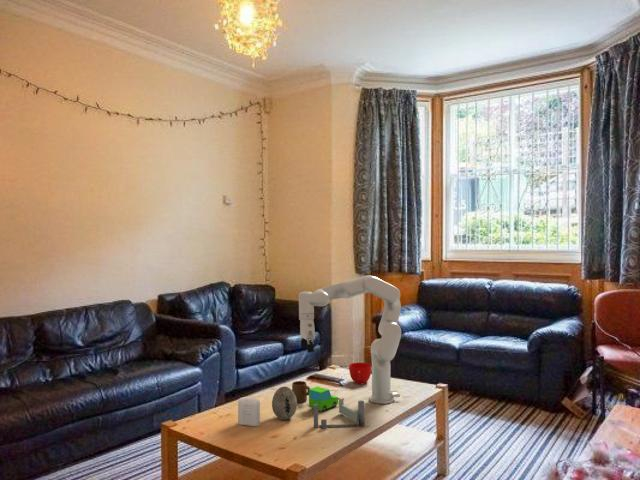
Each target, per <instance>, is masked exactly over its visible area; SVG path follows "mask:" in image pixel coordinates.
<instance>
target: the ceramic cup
mask: <svg viewBox="0 0 640 480" xmlns="http://www.w3.org/2000/svg"><path fill="white" fill-rule="evenodd" d="M348 370H349V377H350V378H351V380H352V381H353V382H354V383H355V384H356V385H364V384H366V383H367V382H368V381H369V379H370V378H371V376H372V364H370V363H367V362H352V363H350V364H349V365H348Z"/></svg>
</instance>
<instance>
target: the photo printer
mask: <svg viewBox="0 0 640 480" xmlns="http://www.w3.org/2000/svg"><path fill="white" fill-rule="evenodd" d="M260 404H261V402H260V400H259V399H257V398H255V397H252V396H244V397H240V398H239V399H238V402H237V413H238V414H237V417H238V418H237V419H238V420H237V421H238V423H237V424H238V425H241V426H251V427H259V426H260V423H261V421H260V420H261V417H260V416H261V413H260V411H261V409H260V408H261V407H260V406H261V405H260Z"/></svg>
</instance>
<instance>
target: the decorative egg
mask: <svg viewBox="0 0 640 480" xmlns="http://www.w3.org/2000/svg"><path fill="white" fill-rule="evenodd" d="M272 396H273V397H272V403H271V407H272V412H273V414H274V415H275V416H276V417H277V418H278V419H281V420H289V419H291V418H292V417H294V415H295V414H296V411H297V408H298V403H297V399H296V396H295V394H294V392H293V391H292V388H290V387H288V386H281V387H278V388H277V389H276V390H275V392H274V394H273V395H272Z"/></svg>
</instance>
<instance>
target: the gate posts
mask: <svg viewBox="0 0 640 480" xmlns="http://www.w3.org/2000/svg"><path fill="white" fill-rule="evenodd" d="M312 410H313V429H318V428H319V429H321V430H327V429H328V428H329V429H331V428H334V429H335V428H358V427H360V428H365V427H366V426H365V421H366V420H365V419H366V416H365V413H366V412H365V401H364V400H358V401H357V410H358V423H356V424H355V423H354V424H353V423H351V424H349V423H348V424H344V423H343V424H327V423H328V422H327V419H326V418H325V419H322V418H321V419H320V424H319V410H318V404H313V408H312Z"/></svg>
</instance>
